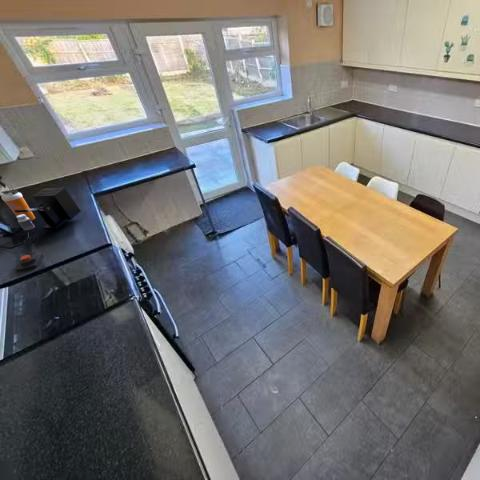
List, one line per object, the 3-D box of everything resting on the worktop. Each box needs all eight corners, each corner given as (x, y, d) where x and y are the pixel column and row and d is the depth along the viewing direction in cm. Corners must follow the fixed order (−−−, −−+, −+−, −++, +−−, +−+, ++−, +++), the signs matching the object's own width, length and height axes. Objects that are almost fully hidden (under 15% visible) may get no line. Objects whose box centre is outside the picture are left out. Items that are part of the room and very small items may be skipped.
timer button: (30, 260, 141) (27, 258, 139) (21, 262, 139) (19, 260, 138) (32, 256, 143) (30, 253, 142) (24, 258, 142) (21, 255, 141)
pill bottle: (36, 227, 170) (27, 214, 165) (25, 231, 166) (16, 218, 161) (33, 225, 172) (24, 213, 167) (22, 229, 169) (13, 216, 164)
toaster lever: (26, 213, 152) (25, 208, 151) (15, 213, 152) (14, 209, 151) (51, 210, 167) (50, 206, 166) (41, 210, 166) (40, 206, 166)
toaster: (71, 219, 177) (53, 195, 165) (51, 220, 176) (31, 196, 165) (81, 211, 184) (64, 187, 173) (61, 212, 184) (43, 188, 172)
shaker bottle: (25, 217, 180) (5, 189, 169) (40, 215, 181) (21, 188, 170) (15, 223, 172) (-6, 195, 161) (31, 222, 174) (11, 193, 162)
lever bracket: (56, 228, 169) (42, 210, 160) (43, 229, 168) (28, 210, 160) (67, 219, 176) (54, 201, 168) (54, 220, 176) (40, 202, 167)
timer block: (38, 268, 141) (32, 262, 139) (18, 272, 139) (13, 267, 136) (44, 256, 148) (39, 251, 146) (26, 260, 146) (20, 255, 143)
